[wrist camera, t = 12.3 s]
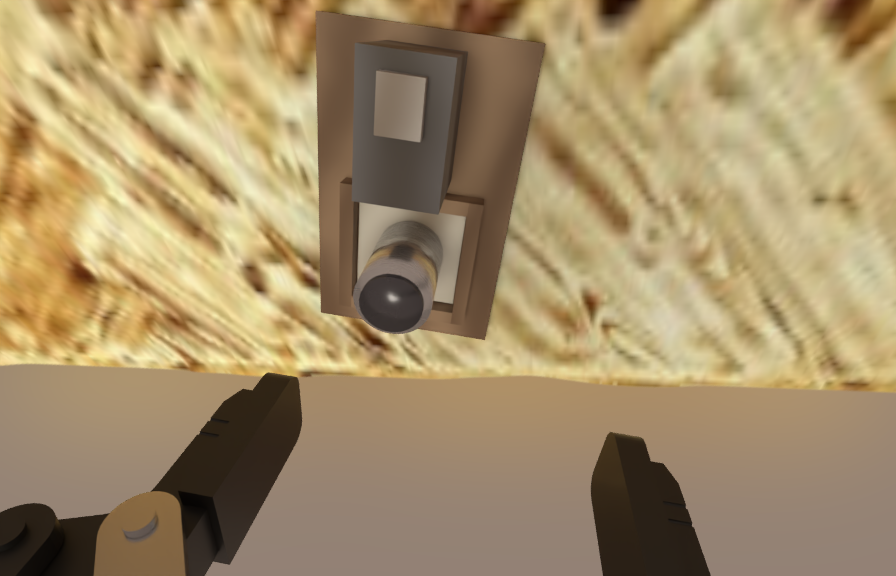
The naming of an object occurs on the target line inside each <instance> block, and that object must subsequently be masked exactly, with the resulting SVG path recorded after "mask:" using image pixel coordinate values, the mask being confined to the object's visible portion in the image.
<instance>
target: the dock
mask: <svg viewBox="0 0 896 576" xmlns="http://www.w3.org/2000/svg"><path fill="white" fill-rule="evenodd" d="M544 47H545V44H544V43H538V42H531V41H524V40H517V39H510V38H503V37H496V36H489V35H483V34H476V33H469V32H462V31H455V30H448V29H441V28H434V27H427V26H420V25H413V24H406V23H400V22H393V21H386V20H379V19H372V18H365V17H358V16H351V15H344V14H337V13H330V12H324V11H316V57H317V113H318V169H319V226H320V282H321V312H322V313H328V314H334V315H340V316H345V317H351V318H357V319H362V318H361V316H360V315H359V313H358V312H357V310H356V308H355V305H354V301H353V292H354V288H355V285H356V283H357V281H358V279H359V277H360V275H361V273H362V271H363V269H364V267H365V266H366V264H367V262H368V260H369V258H370V256H371V254H372V252H373V250H374V248H375V246H376V244H377V242H378V240H379V239H380V237H381V235H382V233H383V232H384V231H385V230H386V229H387V228H388V227H389V226H391V225H393V224H395V223H398V222H403V221H412V222H417V223H420V224H423V225H425V226H427V227H428V228H430V229H431V230H432V231H433V232H434V233H435V234H436V235H437V236H438V238H439V240H440V242H441V244H442V248H443V259H442V264H441V268H440V273H439V277H438V282H437V287H436V291H435V296H434V300H433V305H432V309H431V313H430V315H429V318H428V319H427V321H426V322H425V323H424V324H423V325H422V326H421V327H419V328H418V329H423V330H429V331H435V332H441V333H446V334H452V335H458V336H464V337H470V338H476V339H482V340H485V336H486V331H487V327H488V322H489V317H490V312H491V307H492V302H493V297H494V292H495V287H496V282H497V278H498V273H499V268H500V263H501V258H502V253H503V248H504V243H505V238H506V233H507V229H508V224H509V219H510V214H511V209H512V204H513V199H514V194H515V189H516V184H517V180H518V175H519V170H520V165H521V160H522V155H523V150H524V145H525V140H526V136H527V131H528V126H529V121H530V116H531V111H532V106H533V101H534V96H535V91H536V87H537V82H538V77H539V72H540V67H541V62H542V57H543V52H544Z"/></svg>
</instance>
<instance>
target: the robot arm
mask: <svg viewBox="0 0 896 576" xmlns="http://www.w3.org/2000/svg"><path fill="white" fill-rule="evenodd" d="M301 426H302V412H301V401H300V389H299V381H298V378H297V377H292V376H287V375H281V374H275V373H266V374H265V375H264V376H263V377H262V378H261V380H260V381H259V383H258V384H257V385H256V387H255V388H254V389H253V390H246V389H242V390H241V391H239V392H237V393H236V394H235V395H233V396H232V397H230V398H229V399H227V400H226V401H224V402H223V403H222V405H221V406H220V407H219V408H218V410H217V411H216V412H215V414H214V415H213V416H212V417H211V420H210V421H208V422H207V423H206V425H205V426H204V427H203V428H202V429H201V431H200V434H199V435H197V436H196V437H195V438H194V440H193V441H192V442H191V443H190V444H189V446H188V447H187V448H186V449H185V451H184V452H183V453H182V454H181V456H180V457H179V458H178V459H177V461H176V462H175V463H174V464H173V466H172V467H171V468H170V469H169V471H168V472H167V473H166V474H165V476H164V477H163V478H162V479H161V481H160V482H159V483H158V484H157V485H156V487H155V488H154V489H153V490H152V491H151V492H146V493H143V494H139V495H137V496H134V497H132V498H130V499H128V500H126V501H125V502H123V503H121V504H120V505H119V506H117V507H116V508H115V509H114V510H113V511H112V512H111V513H109V514H103V515H95V516H86V517H78V518H69V519H61V520H58V519H57V517H56V515H55V513H54V511H53V510H52V509H51V508H50V507H48V506H46V505H43V504H37V503H32V504H24V505H19V506H16V507H13V508H10V509H7V510H5V511H3V512H1V513H0V576H205V574H206V572H207V571H208V569H209V567H210V566H211V564H212V562H213V561H214V562H219V563H224V564H230V563H231V561H232V560H233V558H234V556H235V554H236V552H237V550H238V549H239V547H240V545H241V543H242V541H243V539H244V538H245V536H246V534H247V532H248V530H249V528H250V526H251V525H252V523H253V521H254V519H255V517H256V516H257V514H258V512H259V510H260V508H261V506H262V505H263V503H264V501H265V499H266V497H267V496H268V493H269V492H270V490H271V488H272V486H273V485H274V483H275V481H276V479H277V477H278V475H279V473H280V472H281V470H282V468H283V466H284V464H285V462H286V461H287V459H288V457H289V455H290V453H291V452H292V450H293V447H294V446H295V444H296V442H297V440H298V437H299V434H300V431H301ZM591 499H592V506H593V512H594V519H595V525H596V532H597V539H598V545H599V552H600V559H601V565H602V571H603V576H710V572H709V570H708V567H707V564H706V561H705V558H704V555H703V553H702V550H701V547H700V544H699V541H698V538H697V535H696V532H695V529H694V528H693V527H692V521H691V518H690V515H689V512H688V510H687V509H686V504H685V501H684V498H683V495H682V493H681V490H680V487H679V484H678V482H677V481H676V480H675V478H674V477H673V476H672V474H671V473H670V472H669V471H668V469H667V468H666V467H665V465H664V464H662V463H657V462H651V461H650V458H649V454H648V451H647V448H646V444H645V442H644V440H643V439H642V438H641V437H636V436H630V435H624V434H618V433H613V432H610V433H609V434H608V435H607V437H606V440H605V442H604V445H603V448H602V450H601V453H600V456H599V458H598V461H597V464H596V466H595V469H594V472H593V475H592V482H591Z"/></svg>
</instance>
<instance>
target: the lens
mask: <svg viewBox="0 0 896 576" xmlns="http://www.w3.org/2000/svg"><path fill="white" fill-rule="evenodd" d="M442 259H443V248H442V244H441V242H440V240H439V238H438V236H437V235H436V234H435V233H434V232H433V231H432V230H431V229H430V228H428V227H427V226H425V225H423V224H420V223H417V222H412V221H403V222H398V223H395V224H393V225H391V226H389V227H388V228H387V229H386V230H385V231H384V232H383V233H382V235H381V237H380V239H379V240H378V242H377V244H376V246H375V248H374V250H373V252H372V254H371V256H370V258H369V260H368V262H367V264H366V266H365V267H364V269H363V271H362V273H361V275H360V277H359V279H358V281H357V283H356V285H355V288H354V292H353V301H354V305H355V308H356V310H357V312H358V313H359V315H360V316H361V318H362V319H363V320H364V321H365V322H366V323H368V324H369V325H370V326H372V327H374V328H376V329H378V330H380V331H383V332H386V333H392V334H403V333H408V332H411V331H414V330H416V329H418V328H419V327H421V326H422V325H423V324H424V323H425V322H426V321H427V319H428V318H429V315H430V313H431V309H432V305H433V300H434V296H435V291H436V287H437V282H438V277H439V273H440V268H441V264H442Z"/></svg>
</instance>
